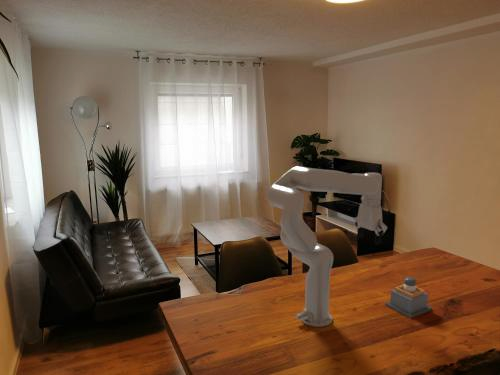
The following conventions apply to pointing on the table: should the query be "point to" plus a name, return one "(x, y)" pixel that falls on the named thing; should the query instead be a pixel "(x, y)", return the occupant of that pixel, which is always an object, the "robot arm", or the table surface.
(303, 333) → the table surface
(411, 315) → the grey square peg holder
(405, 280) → the gray and white capsule
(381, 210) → the robot arm
